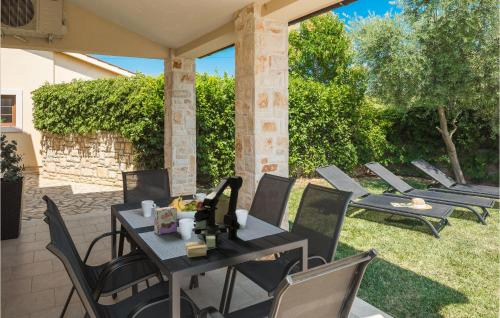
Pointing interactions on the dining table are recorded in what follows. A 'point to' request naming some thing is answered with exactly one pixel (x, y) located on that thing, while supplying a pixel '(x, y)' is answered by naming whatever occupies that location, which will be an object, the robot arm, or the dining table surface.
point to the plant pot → (221, 210)
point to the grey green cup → (202, 225)
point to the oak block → (195, 249)
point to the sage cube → (210, 241)
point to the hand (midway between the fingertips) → (210, 243)
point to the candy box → (165, 220)
